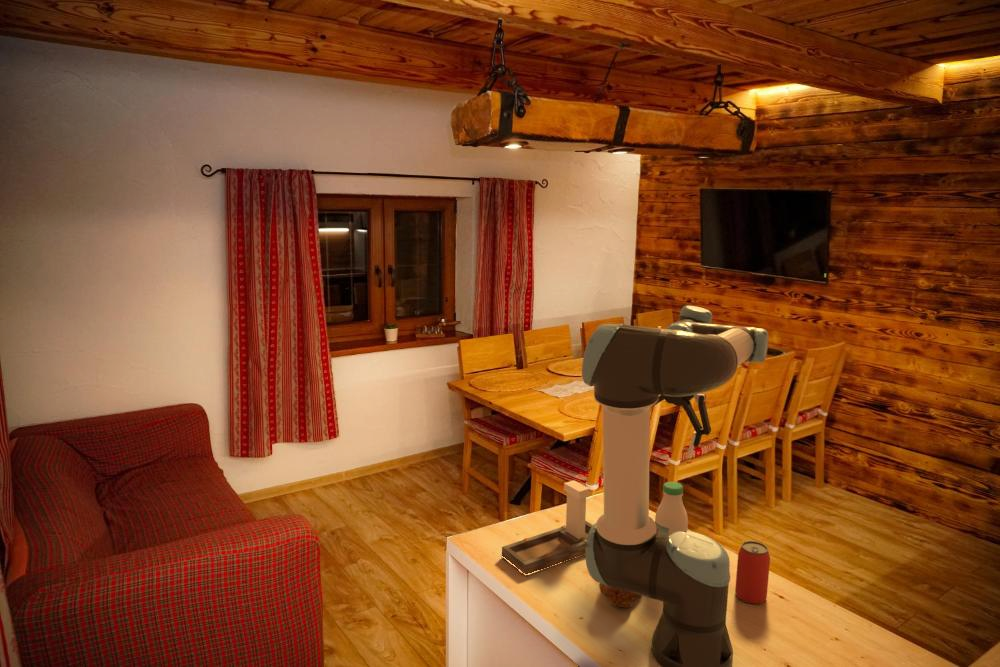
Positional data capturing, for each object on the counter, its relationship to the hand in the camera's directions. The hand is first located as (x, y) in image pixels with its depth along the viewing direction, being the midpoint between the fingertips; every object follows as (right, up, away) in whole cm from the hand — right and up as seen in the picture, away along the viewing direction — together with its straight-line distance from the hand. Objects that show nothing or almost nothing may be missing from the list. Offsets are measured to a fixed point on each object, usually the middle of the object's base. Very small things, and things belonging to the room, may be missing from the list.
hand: (662, 447), depth 174 cm
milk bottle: (0, -27, -8) cm, 28 cm away
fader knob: (-22, -23, 0) cm, 32 cm away
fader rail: (-27, -25, -3) cm, 37 cm away
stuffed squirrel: (-15, -30, -22) cm, 40 cm away
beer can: (+14, -30, -22) cm, 40 cm away
